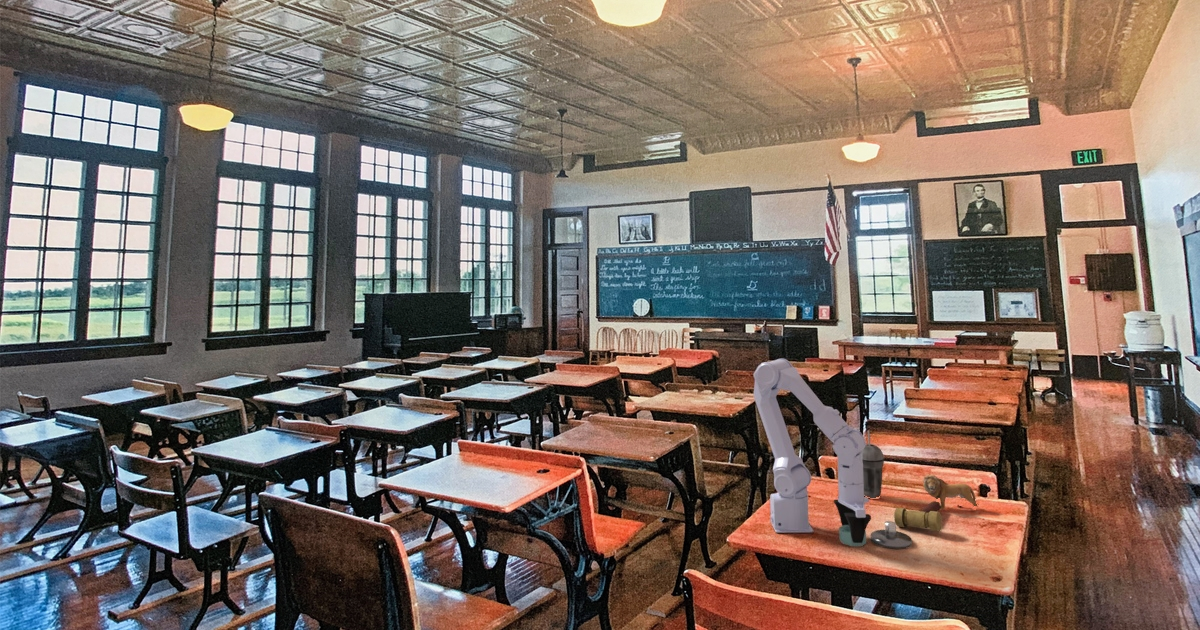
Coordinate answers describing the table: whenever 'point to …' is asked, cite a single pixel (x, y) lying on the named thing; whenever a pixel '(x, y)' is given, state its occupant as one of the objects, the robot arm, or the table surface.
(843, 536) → the ring
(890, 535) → the grey peg stand
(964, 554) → the table surface
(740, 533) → the table surface
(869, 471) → the beverage cup
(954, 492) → the lion figurine
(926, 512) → the gavel
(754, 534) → the table surface
